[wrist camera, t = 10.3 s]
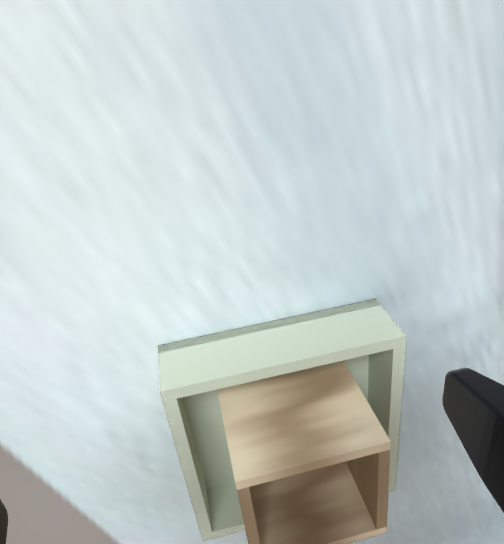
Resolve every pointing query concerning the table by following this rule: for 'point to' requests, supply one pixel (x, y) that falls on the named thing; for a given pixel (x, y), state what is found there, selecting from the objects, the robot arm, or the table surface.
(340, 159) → the table surface
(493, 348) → the table surface
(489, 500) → the table surface
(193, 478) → the pale green square tray
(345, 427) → the small crate
